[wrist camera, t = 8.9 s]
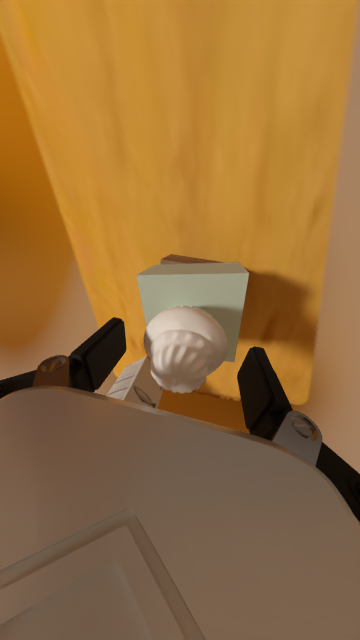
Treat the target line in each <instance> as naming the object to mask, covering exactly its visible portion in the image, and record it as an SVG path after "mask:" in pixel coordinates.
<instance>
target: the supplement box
mask: <svg viewBox="0 0 360 640" xmlns="http://www.w3.org/2000/svg"><path fill="white" fill-rule="evenodd" d="M150 362H151V360H150V359H149V358H148V357H144V358H142V359H140V360H138V361H136V362H134V363H131V364H129V365H127V366H126V367H125V368H124V370H123V371H122V373H121V374H120V376H119V377H118V379H117V380H116V382H115V383H114V385H113V386H112V388H111V389H110V391H109V392H108V394H107V395H106V396H109V397H113V398H116V399H120V400H124V401H128V402H132V403H136V404H140V405H144V406H148V407H151V408H155V409H157V407H158V404H159V401H160V398H161V395H162V391H163V388H164V387H162V386H160V385H159V384H158V383H157V382H156V380H155V379H154V378H153V376H152V374H151V367H150Z"/></svg>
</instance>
